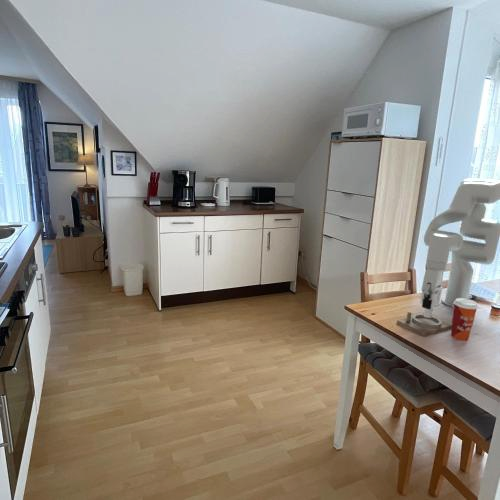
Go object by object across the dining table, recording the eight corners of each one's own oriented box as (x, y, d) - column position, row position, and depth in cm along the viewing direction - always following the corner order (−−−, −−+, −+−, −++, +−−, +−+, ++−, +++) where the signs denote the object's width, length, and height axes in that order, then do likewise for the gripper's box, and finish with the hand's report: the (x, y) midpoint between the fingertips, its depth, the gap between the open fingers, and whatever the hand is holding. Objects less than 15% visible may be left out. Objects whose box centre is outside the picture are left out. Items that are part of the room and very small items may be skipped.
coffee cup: (459, 343, 137) (466, 306, 134) (442, 333, 145) (449, 298, 141) (476, 340, 140) (484, 304, 136) (459, 331, 147) (466, 296, 144)
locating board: (427, 315, 162) (429, 303, 161) (455, 327, 151) (457, 315, 150) (396, 323, 153) (398, 311, 151) (424, 336, 142) (426, 323, 140)
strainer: (434, 313, 154) (439, 280, 150) (438, 320, 147) (445, 286, 143) (416, 312, 155) (421, 278, 151) (420, 318, 148) (426, 284, 145)
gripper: (433, 258, 154) (426, 298, 158) (418, 266, 142) (412, 308, 146) (452, 262, 149) (445, 303, 153) (439, 270, 137) (431, 314, 141)
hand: (429, 305), depth 150 cm, fingers closed on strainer, 6 cm apart
